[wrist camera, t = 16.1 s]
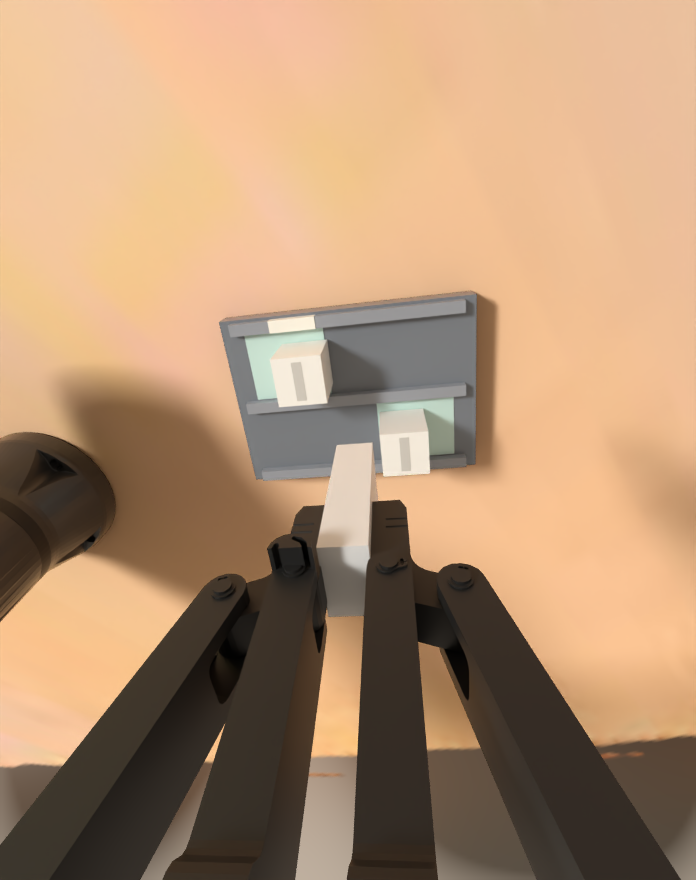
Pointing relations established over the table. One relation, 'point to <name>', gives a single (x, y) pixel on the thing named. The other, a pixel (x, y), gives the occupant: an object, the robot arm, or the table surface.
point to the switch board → (359, 380)
